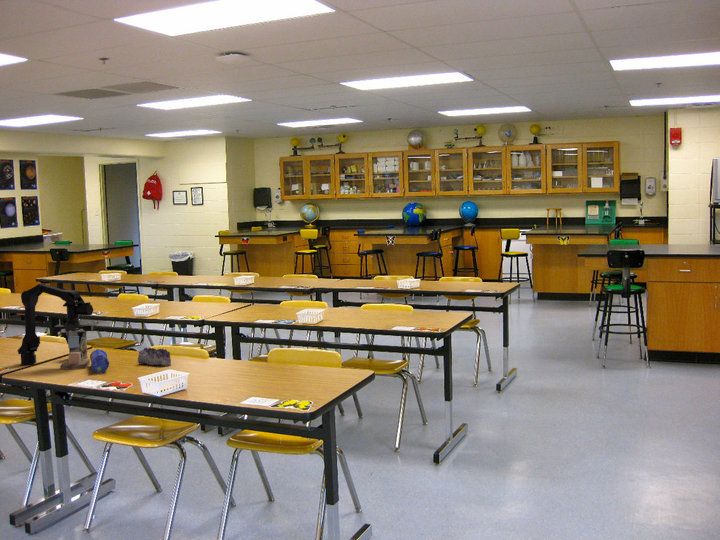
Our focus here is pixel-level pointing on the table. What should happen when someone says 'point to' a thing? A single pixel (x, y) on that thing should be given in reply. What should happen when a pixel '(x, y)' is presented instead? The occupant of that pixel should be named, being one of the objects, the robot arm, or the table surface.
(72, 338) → the slate block
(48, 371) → the table surface
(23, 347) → the robot arm
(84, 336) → the coffee box
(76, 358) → the terracotta block
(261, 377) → the table surface
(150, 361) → the geode
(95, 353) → the pencil case
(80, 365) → the plinth
